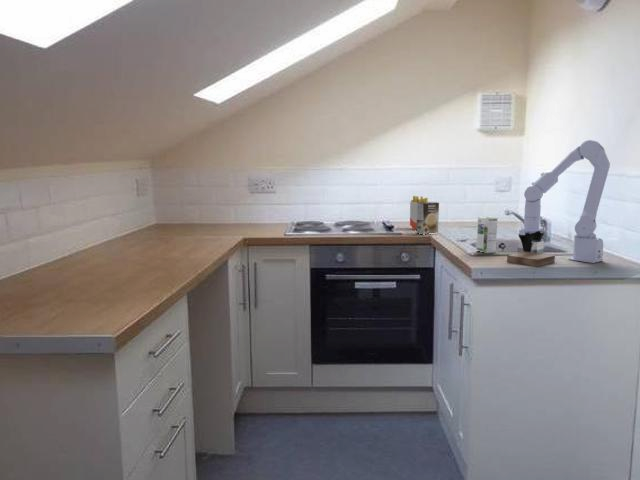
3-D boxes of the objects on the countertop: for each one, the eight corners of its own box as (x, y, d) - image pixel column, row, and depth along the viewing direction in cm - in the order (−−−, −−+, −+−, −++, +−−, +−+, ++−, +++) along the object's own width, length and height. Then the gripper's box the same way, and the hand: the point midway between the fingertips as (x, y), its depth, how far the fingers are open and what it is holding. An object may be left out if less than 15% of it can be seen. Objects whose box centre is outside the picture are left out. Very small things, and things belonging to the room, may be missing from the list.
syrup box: (475, 251, 220) (477, 216, 218) (487, 250, 223) (488, 215, 220) (484, 253, 215) (485, 217, 213) (496, 252, 217) (498, 217, 215)
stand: (554, 262, 197) (554, 255, 196) (537, 266, 189) (537, 259, 189) (524, 257, 206) (524, 251, 205) (507, 261, 198) (507, 255, 198)
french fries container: (415, 228, 292) (415, 195, 289) (431, 230, 284) (432, 196, 281) (409, 229, 289) (410, 195, 286) (425, 231, 281) (426, 197, 278)
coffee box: (423, 235, 265) (424, 203, 263) (416, 234, 271) (416, 202, 269) (438, 234, 269) (439, 202, 267) (430, 232, 275) (431, 201, 272)
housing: (543, 256, 209) (543, 241, 208) (536, 257, 206) (537, 242, 205) (524, 253, 215) (524, 238, 214) (517, 255, 212) (518, 240, 211)
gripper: (532, 214, 216) (530, 248, 218) (512, 217, 207) (511, 252, 209) (549, 216, 210) (547, 250, 212) (529, 219, 201) (527, 254, 203)
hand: (530, 251), depth 210 cm, fingers closed on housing, 5 cm apart
